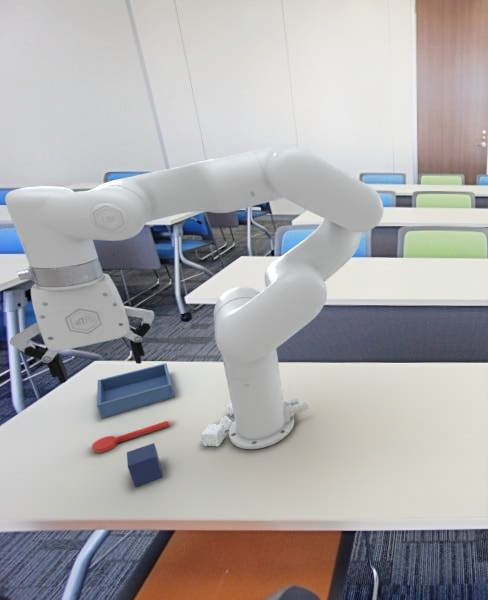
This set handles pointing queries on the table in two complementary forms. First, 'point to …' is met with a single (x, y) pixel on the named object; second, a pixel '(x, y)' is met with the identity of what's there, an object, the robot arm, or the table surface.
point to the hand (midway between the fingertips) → (102, 369)
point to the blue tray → (133, 390)
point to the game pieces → (217, 429)
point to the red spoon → (124, 438)
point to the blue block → (144, 465)
